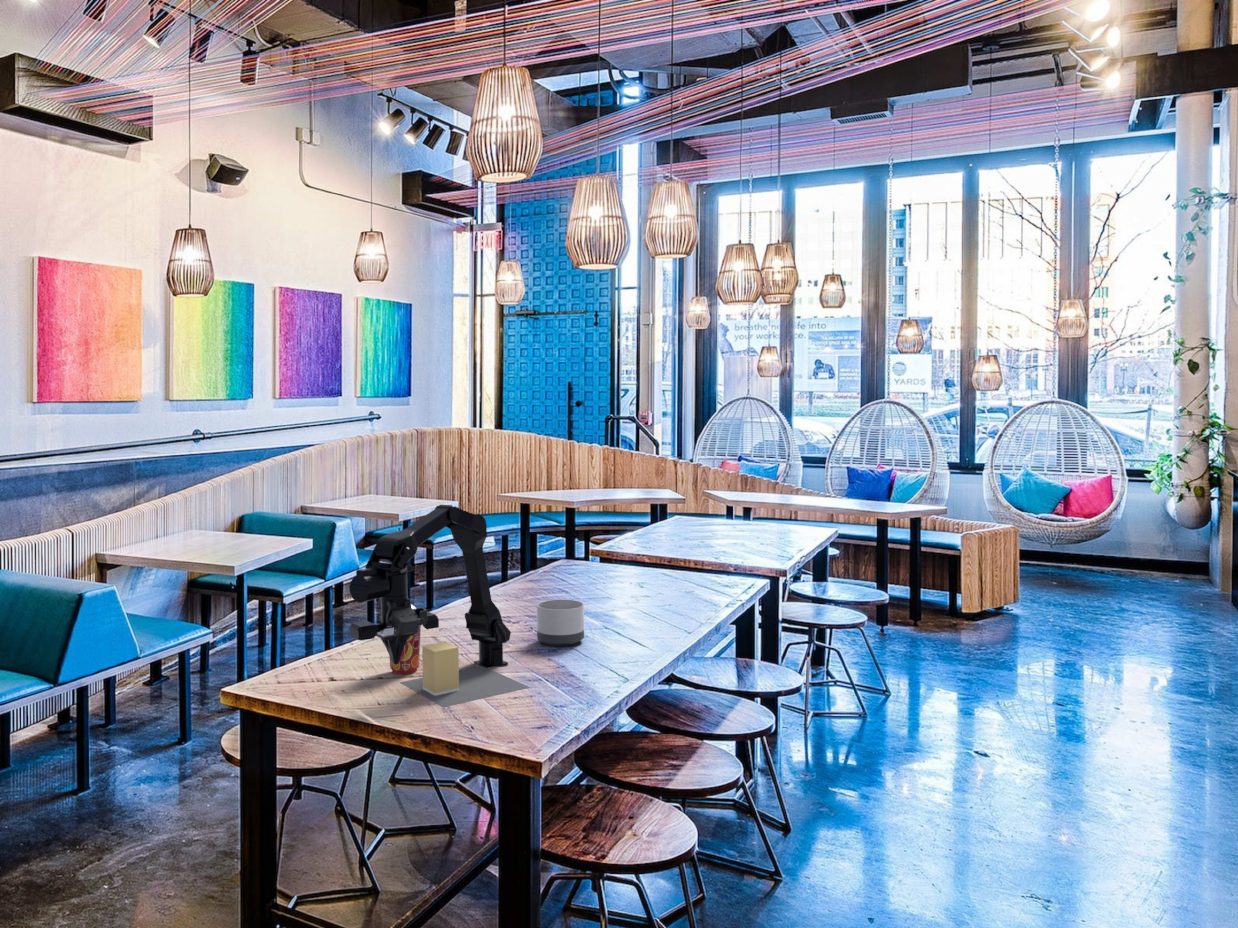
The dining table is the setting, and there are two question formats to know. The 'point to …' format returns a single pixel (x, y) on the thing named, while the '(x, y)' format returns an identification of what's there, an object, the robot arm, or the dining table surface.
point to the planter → (560, 622)
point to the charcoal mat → (470, 686)
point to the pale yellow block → (440, 668)
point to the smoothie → (408, 655)
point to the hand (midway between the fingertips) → (395, 663)
